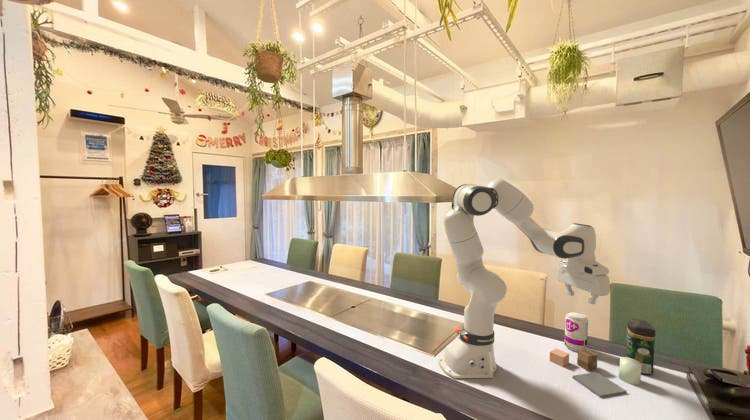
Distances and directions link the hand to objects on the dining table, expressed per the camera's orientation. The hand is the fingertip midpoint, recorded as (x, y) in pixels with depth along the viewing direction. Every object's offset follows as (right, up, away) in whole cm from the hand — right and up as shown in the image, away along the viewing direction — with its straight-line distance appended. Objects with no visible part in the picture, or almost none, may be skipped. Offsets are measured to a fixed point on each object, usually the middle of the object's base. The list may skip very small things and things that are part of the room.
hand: (580, 299), depth 119 cm
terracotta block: (-7, -27, +3) cm, 27 cm away
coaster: (-2, -27, -11) cm, 29 cm away
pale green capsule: (+12, -27, -8) cm, 31 cm away
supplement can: (+7, -26, +14) cm, 30 cm away
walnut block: (+2, -27, 0) cm, 27 cm away
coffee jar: (+22, -27, -1) cm, 35 cm away
